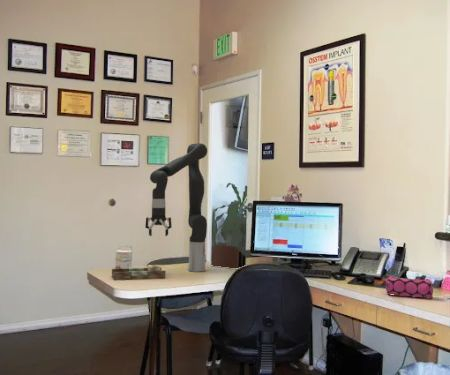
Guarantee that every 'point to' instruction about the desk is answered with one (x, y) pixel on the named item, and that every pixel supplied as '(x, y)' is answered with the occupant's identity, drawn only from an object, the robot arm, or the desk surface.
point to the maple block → (154, 268)
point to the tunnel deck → (136, 274)
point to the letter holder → (227, 256)
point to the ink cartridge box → (124, 257)
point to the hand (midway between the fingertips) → (158, 236)
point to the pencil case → (409, 287)
